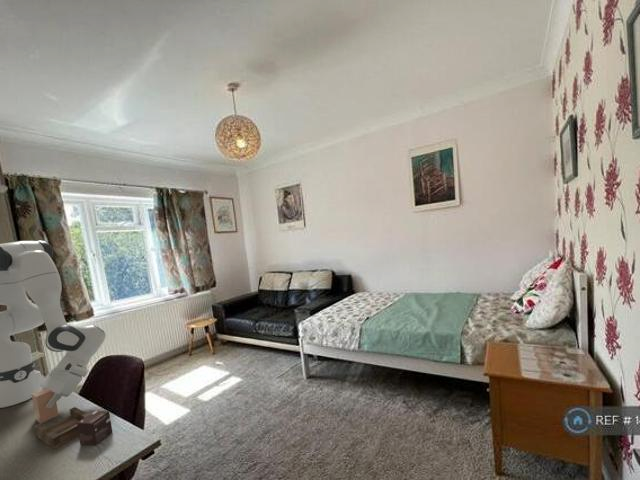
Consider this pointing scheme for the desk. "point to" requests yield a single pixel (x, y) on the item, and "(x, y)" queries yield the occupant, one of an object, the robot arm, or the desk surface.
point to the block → (40, 402)
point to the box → (94, 428)
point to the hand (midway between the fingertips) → (42, 404)
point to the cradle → (61, 429)
